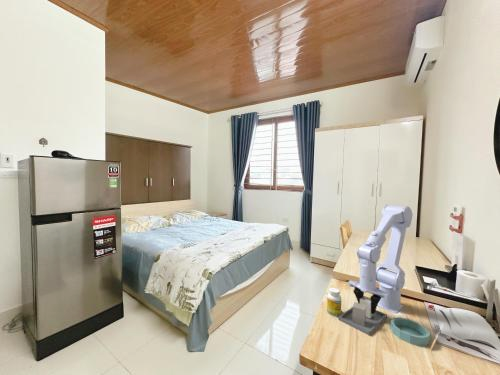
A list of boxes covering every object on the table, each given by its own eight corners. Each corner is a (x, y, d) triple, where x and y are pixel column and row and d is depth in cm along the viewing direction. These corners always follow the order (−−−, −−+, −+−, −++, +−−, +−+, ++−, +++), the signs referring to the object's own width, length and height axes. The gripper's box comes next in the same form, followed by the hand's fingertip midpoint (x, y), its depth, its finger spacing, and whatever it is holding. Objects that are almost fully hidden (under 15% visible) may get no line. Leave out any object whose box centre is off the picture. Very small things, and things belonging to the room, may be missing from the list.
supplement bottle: (332, 308, 90) (332, 285, 90) (343, 315, 85) (344, 291, 85) (324, 312, 87) (324, 288, 87) (335, 319, 82) (336, 294, 82)
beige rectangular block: (363, 310, 88) (364, 295, 88) (374, 314, 85) (374, 299, 85) (359, 313, 85) (359, 298, 85) (370, 318, 82) (370, 303, 82)
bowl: (396, 321, 82) (396, 314, 82) (432, 337, 74) (432, 328, 74) (386, 333, 75) (386, 325, 75) (425, 351, 67) (425, 342, 67)
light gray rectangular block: (354, 317, 83) (354, 302, 83) (365, 321, 81) (366, 305, 81) (352, 322, 80) (352, 306, 80) (364, 326, 78) (364, 310, 78)
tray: (358, 305, 92) (358, 302, 92) (386, 318, 84) (386, 314, 84) (338, 320, 82) (338, 316, 82) (369, 336, 73) (369, 332, 73)
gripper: (345, 272, 88) (344, 305, 88) (384, 285, 77) (383, 323, 77) (352, 268, 93) (352, 300, 93) (391, 280, 81) (390, 316, 81)
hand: (367, 310), depth 85 cm, fingers closed on beige rectangular block, 4 cm apart
